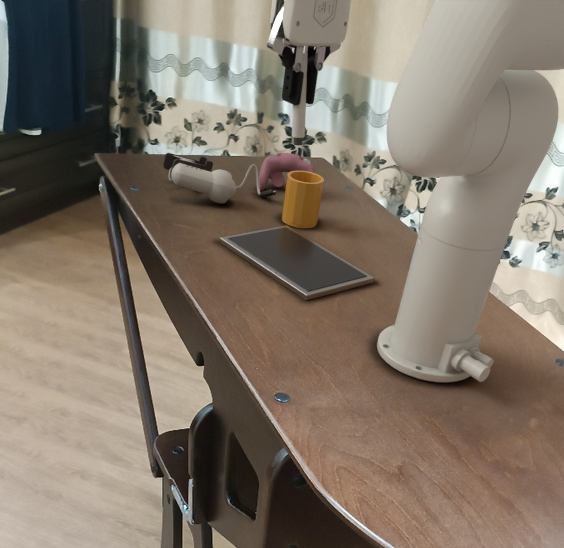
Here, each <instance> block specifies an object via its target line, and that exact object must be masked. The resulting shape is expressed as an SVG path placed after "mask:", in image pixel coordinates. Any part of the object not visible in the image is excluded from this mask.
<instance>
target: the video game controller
mask: <svg viewBox="0 0 564 548" xmlns="http://www.w3.org/2000/svg"><path fill="white" fill-rule="evenodd" d="M316 170H317V169H316V167H315V165H314V164H313V163H312V162H311V161H310V160H309V159H308V158H305V157H303V156H302V155H299V154H295V153H288V152H278V153H270V154H269V155H268V156H266V158H264V160H263V161H262V164H261V166H260V170H259V173H258V176H259V188H260V192H263V191H265V189H266V187H267V184H268V183H269V180H271V183H272V186H273V187H274V188H275V189H276V188H277V189H281V188H283V187H284V185H285V184H286V181H285V176H284V174H283V173H289V172H291V171H308V172H312V173H315V174H317V171H316Z"/></svg>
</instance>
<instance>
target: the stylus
mask: <svg viewBox="0 0 564 548" xmlns="http://www.w3.org/2000/svg"><path fill="white" fill-rule="evenodd" d="M307 60H308V53H304V52H303V59H302V67H301V70H300V71H301V72H304V78H303V85H302V93H301V100H300V104H299V105H293V104H292V119H291V137H292V138H293V145H294V146H303V144H304V143H303V142H304V138H305V137H306V116H307V115H306V111H307V109H306V108H307V103H306V87H307Z"/></svg>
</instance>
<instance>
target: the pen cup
mask: <svg viewBox="0 0 564 548" xmlns="http://www.w3.org/2000/svg"><path fill="white" fill-rule="evenodd" d="M324 183H325V178H324V177H323V176H322V175H320V174H318V173H316V174H315V173H312V172H308V171H291V172H287V174H286V181H285V189H284V198H283V203H282V205H283V206H282V211H281V212H282V213H281V221H282V222H283V223H284V224H285V225H287V226H289V227H291V228H292V227H293V228H297V229H313V228H315V227H316V226H317V224H318V222H319V221H318V220H319V214H320V209H321V204H322V203H321V201H322V197H323V191H324Z"/></svg>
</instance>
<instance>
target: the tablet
mask: <svg viewBox="0 0 564 548" xmlns="http://www.w3.org/2000/svg"><path fill="white" fill-rule="evenodd" d="M219 244H221V245H222V246H224V247H225V248H227V249H228V250H229V251H232V252H233V253H234V254H236V255H237V256H239V257H240V258H242V259H243V260H245V261H246V262H248V263H249V264H251V265H252V266H254V267H255V268H257V269H258V270H260V271H261V272H263V273H264V274H265V275H267V276H268V277H270V278H272V279H273V280H275V281H276V282H277V283H279V284H281V285H282V286H284V287H285V288H286V289H288V290H289V291H291V292H293V293H294V294H295V295H297V296H298V297H300V298H301V299H303V300H304V301H308V300H314V299H317V298H320V297H324V296H328V295H332V294H336V293H340V292H344V291H347V290H351V289H354V288H355V289H356V288H359V287H362V286H366V285H370V284H373V283H374V280H375V277H374V276H372V275H371V274H369V273H368V272H366V271H364V270H362V269H360V268H359V267H357V266H355V265H354V264H352V263H350V262H349V261H348V260H345V259H344V258H342V257H341V256H339V255H338V254H336V253H334V252H332V251H331V250H329V249H327V248H326V247H324V246H322V245H320V244H319V243H317V242H315V241H314V240H312V239H310V238H309V237H307V236H306V235H304V234H302V233H301V232H299V231H297V230H296V229H294V228H292V227H291V226H290V225H287V224H285V225H280V226H275V227H270V228H264V229H259V230H253V231H248V232H242V233H238V234H232V235H226V236H220V237H219Z"/></svg>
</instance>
